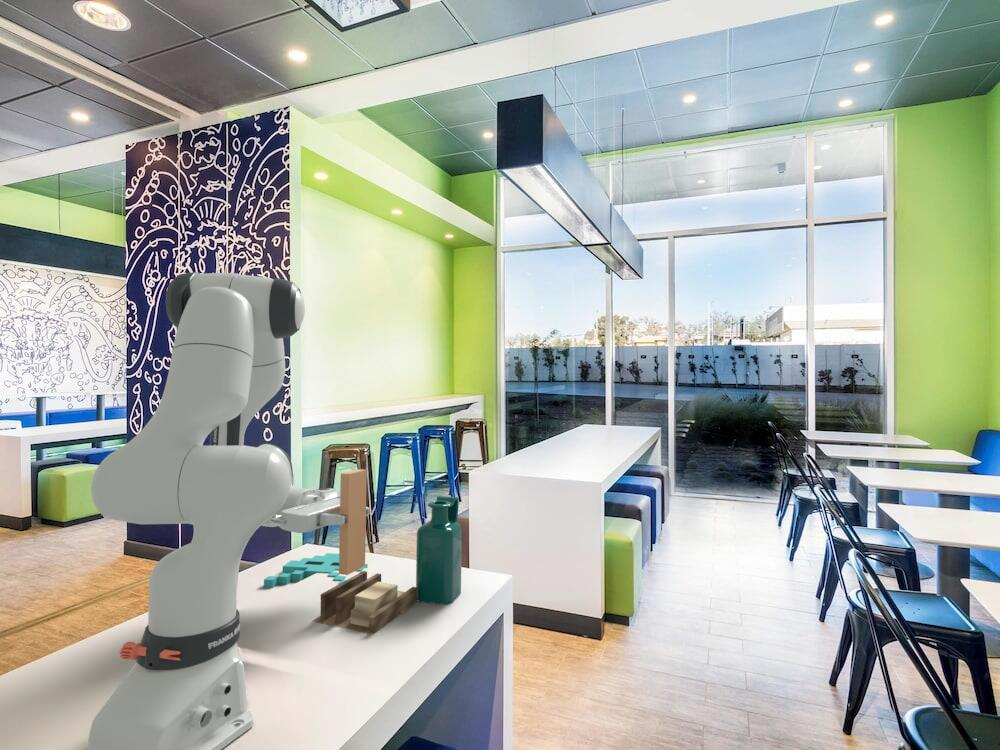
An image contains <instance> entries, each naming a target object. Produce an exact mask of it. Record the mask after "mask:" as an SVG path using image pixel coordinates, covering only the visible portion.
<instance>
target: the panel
mask: <svg viewBox="0 0 1000 750" xmlns="http://www.w3.org/2000/svg"><path fill="white" fill-rule="evenodd" d="M367 471H368V470H367V469H361V468H360V469H355V470H349V471H346V472H341V473H340V488H339V489H340V491H339V492H340V514H343V515H347V516H348V519H347V520H348V522H347V523H346V524H344V525H339V543H338V544H339V547H338V548H339V553H338V554H339V570H338V572H339V575H342V576H344V575H345V576H349V575H350V574H352V573H355V572H357V571H356V570H358V569H360V568H362V567H364V566H365V564H366V535H367V534H366V533H367V530H366V529H367V528H366V525H367V518H366V517H367V516H366V507H367V480H368V479H367V478H368V477H367Z"/></svg>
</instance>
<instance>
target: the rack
mask: <svg viewBox="0 0 1000 750" xmlns="http://www.w3.org/2000/svg"><path fill="white" fill-rule="evenodd" d="M345 580H346V581H344V582H342V583H340V584H339V585H338V584H337V585H335V586H333V587H331V588H330V589H327V590H326V591H324V592H322V593H321V594H320V614H319V615H320V616H318V617H316V618H314V619H313V620H312V622H313V623H319V624H324V625H327V626H333V627H337V628H342V629H347V630H352V631H356V632H361V633H364V634H365V633H366V634H370V635H375V634H376V633H377V632H379V631H380V630H381V629H382V628H384V627H385V626H386V625H388V624H389V623H390V622H392V621H393V620H395V619H396V618H398V617H399V616H400V615H401V614H403V613H404V612H405V611H406V610H408V609H409V608H411V607H412V606H413V605H415V604H416V603H417V602H418V601H417V587H416V586H412V587H410V588H408V589H407V590H406V591H403V592H404V593H403V594H402V595H400V596H399V597H397V598H396V599H394V600H393V601H391V602H390V603H388V604H387V605H386V606H384V607H383V608H381V609H380V610H378V611H377V612H375V613H374V614H372V615H371V616H370V617H369V627H365V626H360V625H355V624H351V610H352V609H354V608H355V595H357V594H359V593H360V592H362V591H364V590H365V589H367V588H369V587H370V586H372V585H374V584H375V583H377V582H382V573H378V572H377V573H376V574H374V575H372V576H370V577H368V571H366V570H365V571H364V570H362V571H360V572H359V573H357V574H355V575H354V576H351V577H350V578H348V579H345Z"/></svg>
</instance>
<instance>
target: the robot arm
mask: <svg viewBox="0 0 1000 750" xmlns="http://www.w3.org/2000/svg"><path fill="white" fill-rule="evenodd" d="M165 310H166V315H167V318H168V319H169V321H170V323H172V325H173V326H175V328H176V333H175V336H174V341H173V347H172V353H171V357H170V365H169V368H168V369H169V370H168V374H167V378H166V382H165V386H164V390H163V393H162V397H161V400H160V401H159V404H158V407H157V408H156V410H155V412H154V414H153V415H152V416H151V418H150V420H148V422H147V423H146V424H145V426H144V427H143V428H142V429H141V430H140V431H139V432H138V433H137V435H136V436H134V437H133V438H132V439H131V440H130V441H128V442H127V443H125V444H124V445H123V446H122V447H119V448H117V449H116V450H114V451H113V452H110V453H109V454H108V455H107V456H106V457H104V459H103V460H102V461H101V462H100V463H99V464H98V466H97V468H96V469H95V471H94V473H93V476H92V480H91V484H90V485H91V486H90V493H91V494H90V495H91V499H92V502H93V505H94V507H95V509H96V510H97V511H98V512H99V514H101V516H102V517H103V518H106V519H109V520H114V521H118V522H119V521H120V522H123V523H124V522H125V523H129V524H137V525H175V524H176V525H181V524H182V525H183V524H185V525H186V524H189V525H192V526H193V535H192V539H191V541H190V542H189V543H188V544H185V545H183V546H181V547H179V548H177V549H175V550H173V551H171V552H170V553H168V554H166V555H165V556H164V557H162V558H161V559H160V560H159V561H157V563H156V564H155V565H154V567H153V568H152V570H151V572H150V576H149V577H148V578H149V579H148V610H147V611H148V614H147V615H148V621H147V622H148V624H147V625H146V627H144V629H145V630H144V631H143V635H142V636H141V640H140V642H138V643H135V642H133V641H127V642H125V643H124V644H123V645H122V646H121V648H120V650H119V655H120V656H119V657H120V658H121V659H124V660H129V659H131V660H133V661H135V660H136V662H135V663H134V665H133V666H132V668H131V669H130V670H129V672H127V675H126V676H125V677H124V678H123V680H122V681H121V683H120V684H119V685H118V686H117V687H116V689H115V690H114V692H113V693H112V694H111V695H110V697H109V698H108V700H106V702H105V703H104V705H103V706H102V707H101V709H100V710H99V711H98V713H97V714H96V715H95V716H94V718H93V720H92V723H91V726H90V729H89V734H88V740H87V746H86V747H87V748H85V749H84V750H222V749H224V748H225V747H226V746H228V745H229V744H231V743H232V742H233V741H235V740H236V739H237V738H239V737H240V736H241V735H243V734H244V733H245V732H247V731H248V730H249V729H251V728H253V726H254V724H255V723H254V715H253V713H252V712H251V710H249V708H248V707H249V703H248V697H247V696H248V695H247V685H246V675H245V667H244V662H243V660H242V659H243V658H242V657H241V654H240V650H239V647H238V646H239V645H238V641H239V639H240V636H241V631H240V630H241V621H240V611H239V610H238V609H237V601H238V600H237V598H238V580H239V570H240V563H241V559H242V557H243V554H244V551H245V549H246V546H247V545H248V542H249V541H250V539H251V537H252V536H253V535H254V534H255V533H256V531H257V530H258V529H259V528H260V527H269V528H276V527H279V528H280V529H282V530H284V531H288V532H292V533H295V534H307V533H310V532H312V531H316V530H318V529H321V528H325V527H327V526H336V525H337V526H340V525H344V524H346V523H347V522H348V520H347V519H348V516H347V515H343V514H340V491H335V489H334V488H332V487H331V488H330V487H326V488H323V487H322V488H307V487H304V488H303V487H296V486H295V487H294V471H293V470H294V469H293V464H292V461H291V458H290V456H289V454H288V453H287V452H286V451H285V450H284V449H282V448H281V447H280V446H278V445H275V444H272V443H263V444H260V445H259V446H257V447H256V446H250V445H244V444H245V433H246V430H247V427H248V426H249V424H250V422H251V421H252V419H253V418H254V417H255V415H257V413H258V412H259V411H261V409H262V408H263V407H264V406H265V405H266V404H267V403H268V402H270V400H272V399H273V398H274V397H275V396H276V395H277V394H278V392H279V391H280V390H281V388H282V386H283V384H284V380H285V374H286V358H285V357H286V356H285V355H286V354H285V345H284V338H288V337H289V338H290V337H292V336H293V335H295V334H296V333H298V332H299V331H300V329H301V326H302V324H303V321H304V317H305V313H306V312H305V311H306V307H305V301H304V297H303V295H302V292H301V289H300V288H299V286H298V285H297V284H296V283H295V282H294V281H292V280H288V279H283V278H280V277H275V278H274V279H273V278H270V277H269V278H268V277H262V276H256V275H250V274H249V275H248V274H239V273H235V272H233V273H232V272H212V273H211V272H210V273H209V272H208V273H200V272H198V271H193V272H186V273H181V274H178V275H177V276H175V278H173V279H171V281H170V282H169V283H168V285H167V288H166V292H165ZM208 436H209V445H204V443H205V441H206V439H207V438H208ZM369 515H370V507H368V506H366V517H368V516H369Z"/></svg>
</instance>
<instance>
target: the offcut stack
mask: <svg viewBox="0 0 1000 750" xmlns="http://www.w3.org/2000/svg"><path fill="white" fill-rule="evenodd" d="M404 592H405V591H402V590H398V584H394V583H387V582H382V581H381V582H377V583H375V584H374V585H372V586H370V587H369V588H367V589H365V590H364V591H362V592H360V593H359V594H357V595H355V608H354V609H352V610H351V624H355V625H360V626H365V627H369V617H370V616H371V615H372V614H374V613H375V612H377V611H378V610H380V609H381V608H383V607H384V606H386V605H387V604H388V603H390V602H391V601H393V600H394V599H396V598H397V597H399V596H400V595H402V594H403V593H404Z"/></svg>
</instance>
